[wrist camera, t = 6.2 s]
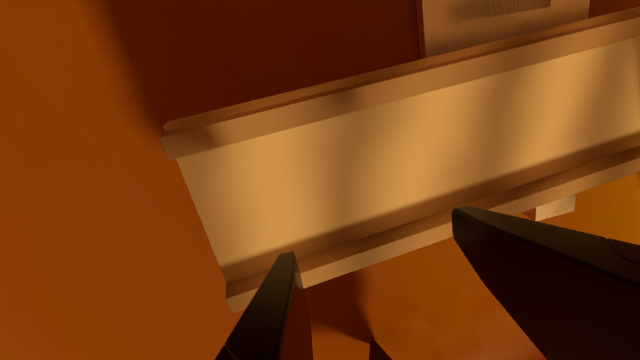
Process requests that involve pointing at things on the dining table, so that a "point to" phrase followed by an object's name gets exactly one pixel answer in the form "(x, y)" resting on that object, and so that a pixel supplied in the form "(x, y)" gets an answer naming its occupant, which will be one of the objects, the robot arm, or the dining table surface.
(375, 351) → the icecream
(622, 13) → the beam
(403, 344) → the dining table surface
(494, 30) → the stand
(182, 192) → the dining table surface
